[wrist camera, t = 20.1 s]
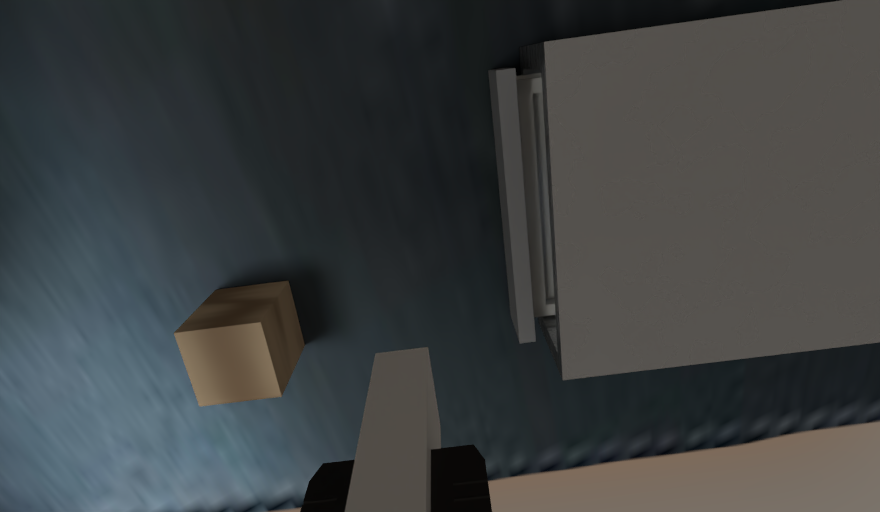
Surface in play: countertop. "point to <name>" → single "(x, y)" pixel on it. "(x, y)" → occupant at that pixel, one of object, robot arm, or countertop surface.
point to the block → (242, 343)
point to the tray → (523, 195)
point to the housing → (713, 188)
